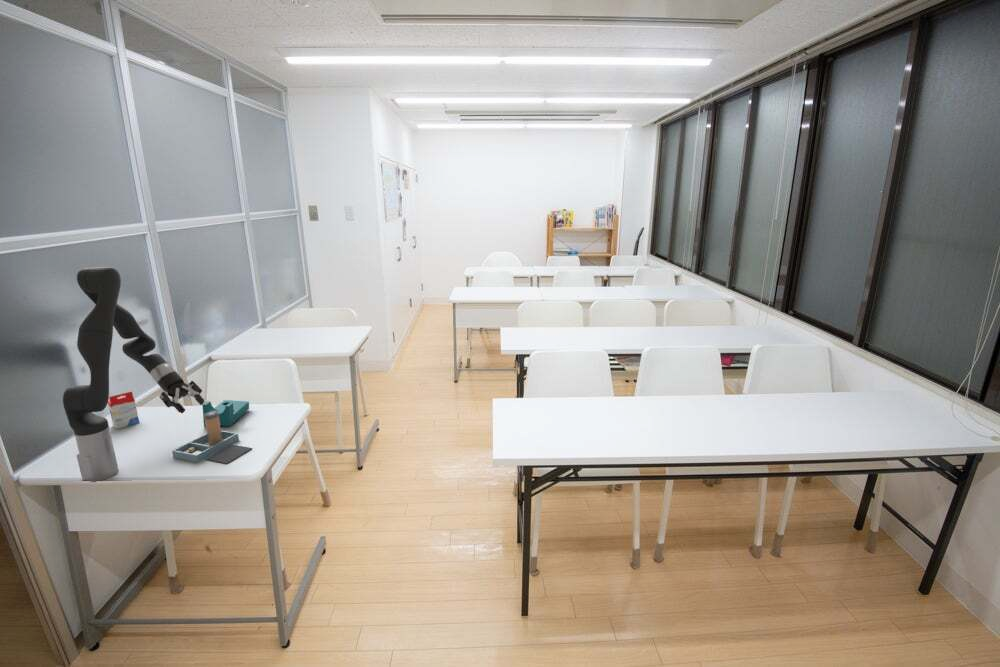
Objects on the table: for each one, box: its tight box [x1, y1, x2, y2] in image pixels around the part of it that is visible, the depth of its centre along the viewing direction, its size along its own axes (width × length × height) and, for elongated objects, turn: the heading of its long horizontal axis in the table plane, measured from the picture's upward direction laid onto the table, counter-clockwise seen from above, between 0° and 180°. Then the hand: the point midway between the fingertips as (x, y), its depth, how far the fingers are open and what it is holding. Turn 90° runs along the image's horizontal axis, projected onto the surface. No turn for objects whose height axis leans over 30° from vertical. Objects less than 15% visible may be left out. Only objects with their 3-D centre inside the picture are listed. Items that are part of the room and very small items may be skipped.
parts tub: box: [171, 429, 240, 464], centre depth 190 cm, size 19×12×3 cm, turn 162°
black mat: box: [205, 443, 253, 465], centre depth 186 cm, size 12×10×1 cm
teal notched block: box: [202, 399, 250, 428], centre depth 216 cm, size 18×11×10 cm, turn 2°
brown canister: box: [204, 411, 224, 446], centre depth 192 cm, size 5×5×13 cm
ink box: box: [107, 391, 140, 430], centre depth 209 cm, size 8×5×15 cm, turn 139°
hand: (193, 407), depth 193 cm, fingers open, 8 cm apart
